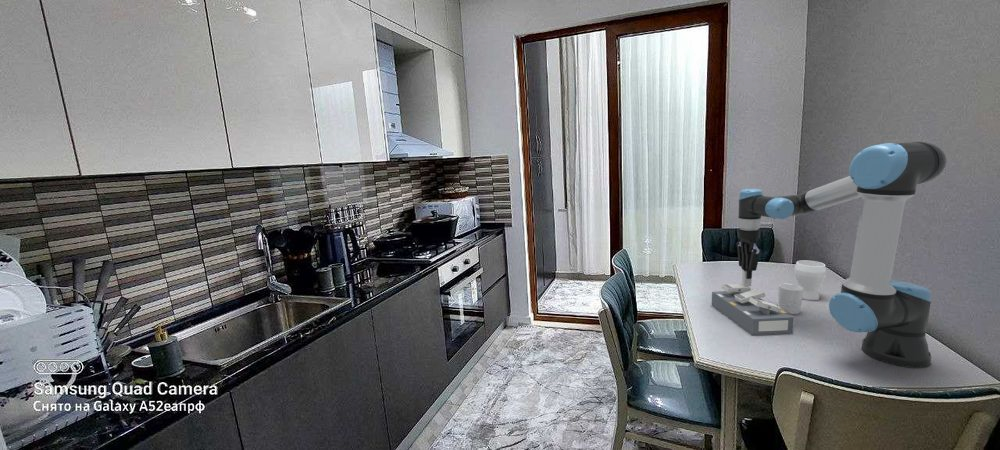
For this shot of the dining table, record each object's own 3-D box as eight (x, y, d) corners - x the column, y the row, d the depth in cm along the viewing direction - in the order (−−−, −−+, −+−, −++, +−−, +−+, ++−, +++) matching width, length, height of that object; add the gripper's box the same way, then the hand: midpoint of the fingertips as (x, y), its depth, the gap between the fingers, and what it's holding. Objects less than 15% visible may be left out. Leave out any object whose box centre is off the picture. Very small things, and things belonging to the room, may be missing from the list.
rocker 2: (766, 296, 149) (765, 292, 149) (742, 303, 149) (741, 299, 149) (757, 292, 154) (756, 287, 154) (734, 298, 155) (733, 294, 154)
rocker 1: (751, 291, 158) (751, 287, 158) (728, 292, 158) (728, 288, 158) (743, 287, 163) (743, 283, 163) (721, 288, 163) (721, 284, 163)
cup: (829, 298, 167) (832, 264, 164) (813, 303, 163) (816, 268, 161) (802, 291, 177) (805, 258, 174) (786, 295, 173) (789, 262, 170)
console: (792, 333, 139) (794, 312, 138) (752, 335, 139) (753, 314, 138) (745, 303, 167) (746, 286, 165) (711, 305, 167) (712, 287, 166)
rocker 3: (780, 313, 140) (782, 308, 140) (756, 306, 140) (758, 301, 140) (770, 307, 146) (772, 303, 145) (747, 300, 145) (749, 296, 145)
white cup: (805, 315, 153) (807, 290, 151) (782, 314, 155) (784, 290, 153) (795, 307, 161) (796, 283, 159) (773, 306, 162) (774, 283, 160)
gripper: (769, 231, 149) (766, 290, 154) (748, 224, 162) (746, 279, 167) (749, 232, 150) (746, 291, 154) (730, 225, 163) (728, 280, 167)
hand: (746, 285), depth 160 cm, fingers closed
